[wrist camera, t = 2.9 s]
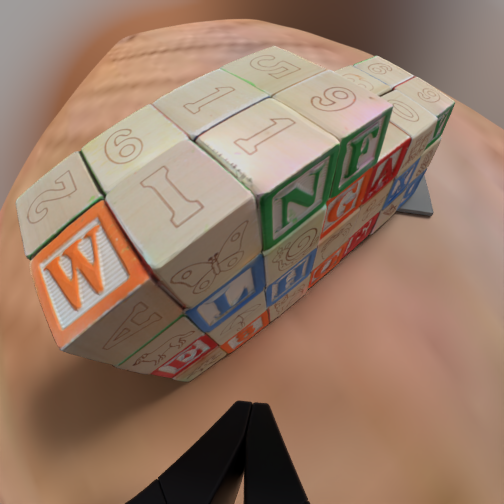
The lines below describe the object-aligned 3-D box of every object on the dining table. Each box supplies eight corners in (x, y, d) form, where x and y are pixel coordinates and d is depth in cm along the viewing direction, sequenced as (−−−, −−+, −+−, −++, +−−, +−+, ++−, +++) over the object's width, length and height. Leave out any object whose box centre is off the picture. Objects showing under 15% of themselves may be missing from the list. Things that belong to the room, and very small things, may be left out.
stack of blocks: (358, 148, 24) (385, 16, 13) (415, 194, 22) (475, 64, 11) (135, 307, 19) (9, 197, 8) (187, 386, 17) (49, 352, 6)
